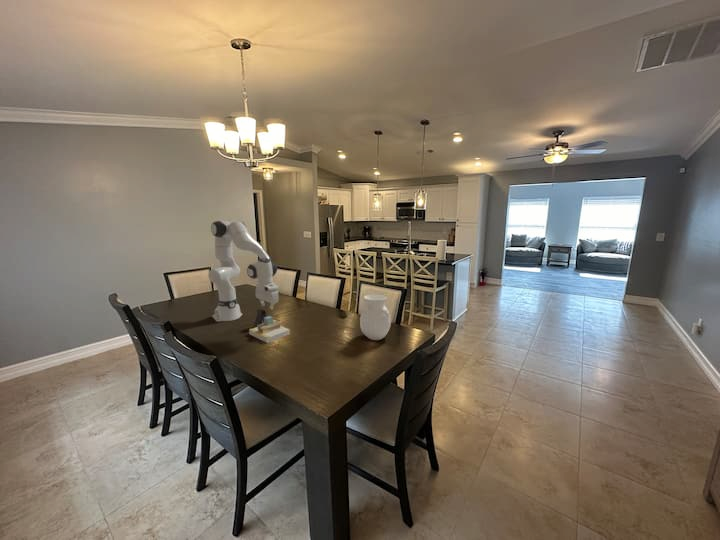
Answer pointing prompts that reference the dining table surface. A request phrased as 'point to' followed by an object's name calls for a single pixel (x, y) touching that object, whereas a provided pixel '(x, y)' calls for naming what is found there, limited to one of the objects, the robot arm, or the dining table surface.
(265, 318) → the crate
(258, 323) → the phone stand
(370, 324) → the white vase
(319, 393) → the dining table surface
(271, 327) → the pallet
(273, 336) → the dock
